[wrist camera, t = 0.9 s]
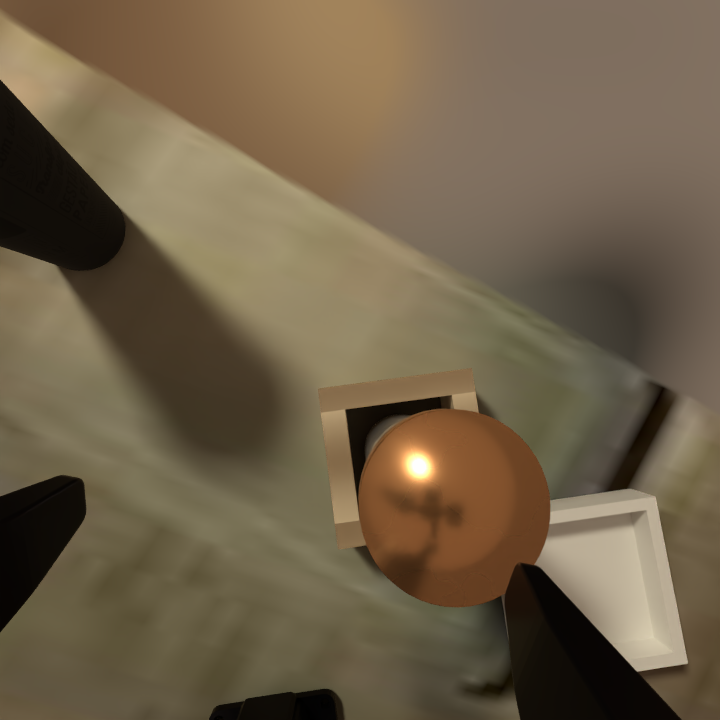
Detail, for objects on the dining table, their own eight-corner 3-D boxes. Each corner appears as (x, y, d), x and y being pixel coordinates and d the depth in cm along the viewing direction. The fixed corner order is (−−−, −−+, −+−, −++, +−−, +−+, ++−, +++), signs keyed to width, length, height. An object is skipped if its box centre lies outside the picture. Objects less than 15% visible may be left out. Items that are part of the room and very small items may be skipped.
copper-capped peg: (449, 488, 24) (566, 591, 11) (361, 501, 24) (373, 621, 11) (436, 399, 24) (533, 397, 11) (349, 411, 24) (347, 422, 11)
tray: (659, 640, 23) (688, 663, 21) (512, 664, 23) (527, 689, 21) (630, 488, 24) (655, 496, 22) (487, 509, 24) (499, 519, 22)
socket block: (478, 510, 24) (496, 526, 21) (340, 530, 23) (338, 549, 21) (457, 372, 24) (471, 368, 21) (322, 390, 24) (317, 388, 21)
